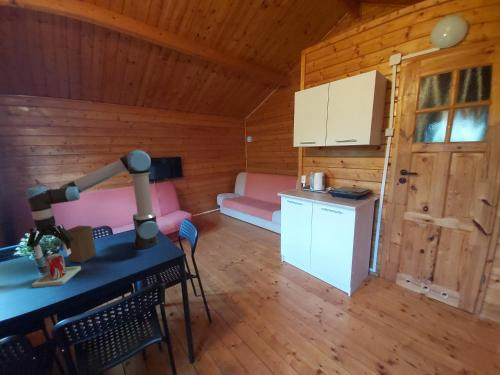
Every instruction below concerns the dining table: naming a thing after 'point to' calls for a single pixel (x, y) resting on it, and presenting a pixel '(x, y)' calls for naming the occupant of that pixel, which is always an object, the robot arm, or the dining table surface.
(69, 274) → the tray
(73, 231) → the block
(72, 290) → the dining table surface
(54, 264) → the soda can
